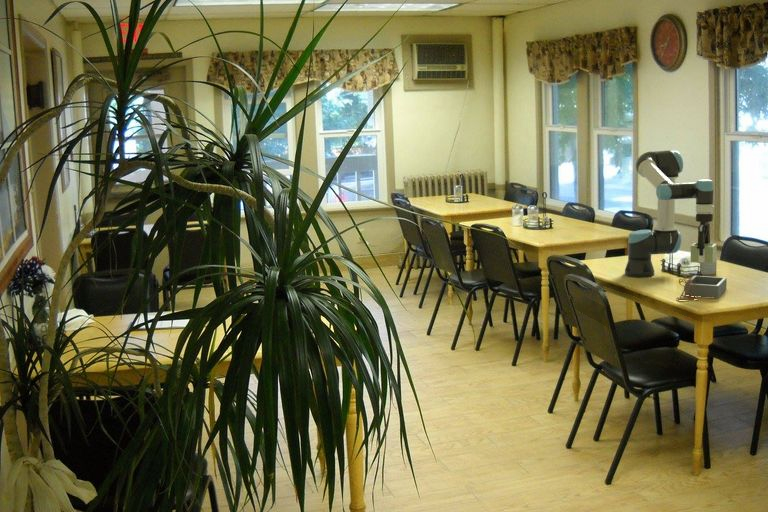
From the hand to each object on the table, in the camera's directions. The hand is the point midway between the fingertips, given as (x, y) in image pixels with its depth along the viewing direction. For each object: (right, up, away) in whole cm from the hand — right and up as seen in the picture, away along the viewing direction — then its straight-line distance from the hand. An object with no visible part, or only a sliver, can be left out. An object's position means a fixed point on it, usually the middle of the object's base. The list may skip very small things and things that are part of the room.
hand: (703, 260), depth 423 cm
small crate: (0, 0, 0) cm, 0 cm away
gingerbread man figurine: (-11, -18, -9) cm, 23 cm away
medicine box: (+18, -7, +45) cm, 49 cm away
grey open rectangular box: (+2, -15, +3) cm, 16 cm away
